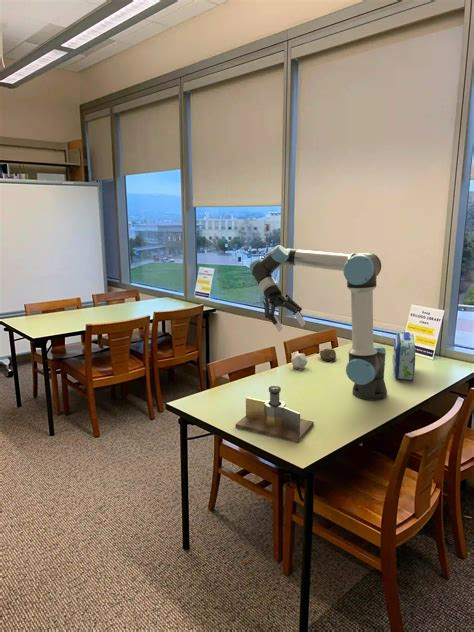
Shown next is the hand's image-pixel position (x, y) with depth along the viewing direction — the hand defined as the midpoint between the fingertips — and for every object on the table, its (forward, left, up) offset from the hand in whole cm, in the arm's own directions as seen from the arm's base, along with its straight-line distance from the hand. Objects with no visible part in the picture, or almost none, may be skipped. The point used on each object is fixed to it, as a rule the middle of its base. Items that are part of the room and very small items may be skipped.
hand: (292, 327), depth 193 cm
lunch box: (-39, -56, -33) cm, 76 cm away
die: (+12, -41, -33) cm, 54 cm away
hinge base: (-5, +29, -33) cm, 44 cm away
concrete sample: (+3, -63, -33) cm, 71 cm away
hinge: (-5, +29, -31) cm, 43 cm away
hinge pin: (-5, +29, -31) cm, 43 cm away
